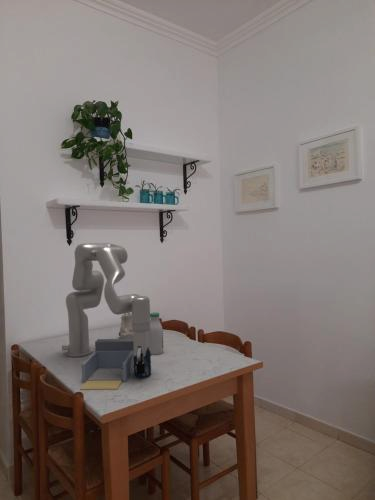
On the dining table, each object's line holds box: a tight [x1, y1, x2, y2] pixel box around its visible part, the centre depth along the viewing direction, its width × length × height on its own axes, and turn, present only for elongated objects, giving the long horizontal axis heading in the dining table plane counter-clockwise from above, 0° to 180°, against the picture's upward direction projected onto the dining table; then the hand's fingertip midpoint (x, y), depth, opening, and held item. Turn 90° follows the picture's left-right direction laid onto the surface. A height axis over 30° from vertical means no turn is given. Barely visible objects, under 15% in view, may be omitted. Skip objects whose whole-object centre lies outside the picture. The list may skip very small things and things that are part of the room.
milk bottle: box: [148, 311, 164, 356], centre depth 179 cm, size 8×8×20 cm
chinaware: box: [118, 312, 134, 339], centre depth 208 cm, size 28×17×17 cm, turn 161°
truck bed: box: [81, 338, 134, 383], centre depth 151 cm, size 17×22×12 cm
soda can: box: [133, 347, 152, 379], centre depth 146 cm, size 7×7×12 cm
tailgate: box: [79, 379, 123, 391], centre depth 137 cm, size 14×1×9 cm
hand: (142, 369), depth 146 cm, fingers closed on soda can, 6 cm apart
